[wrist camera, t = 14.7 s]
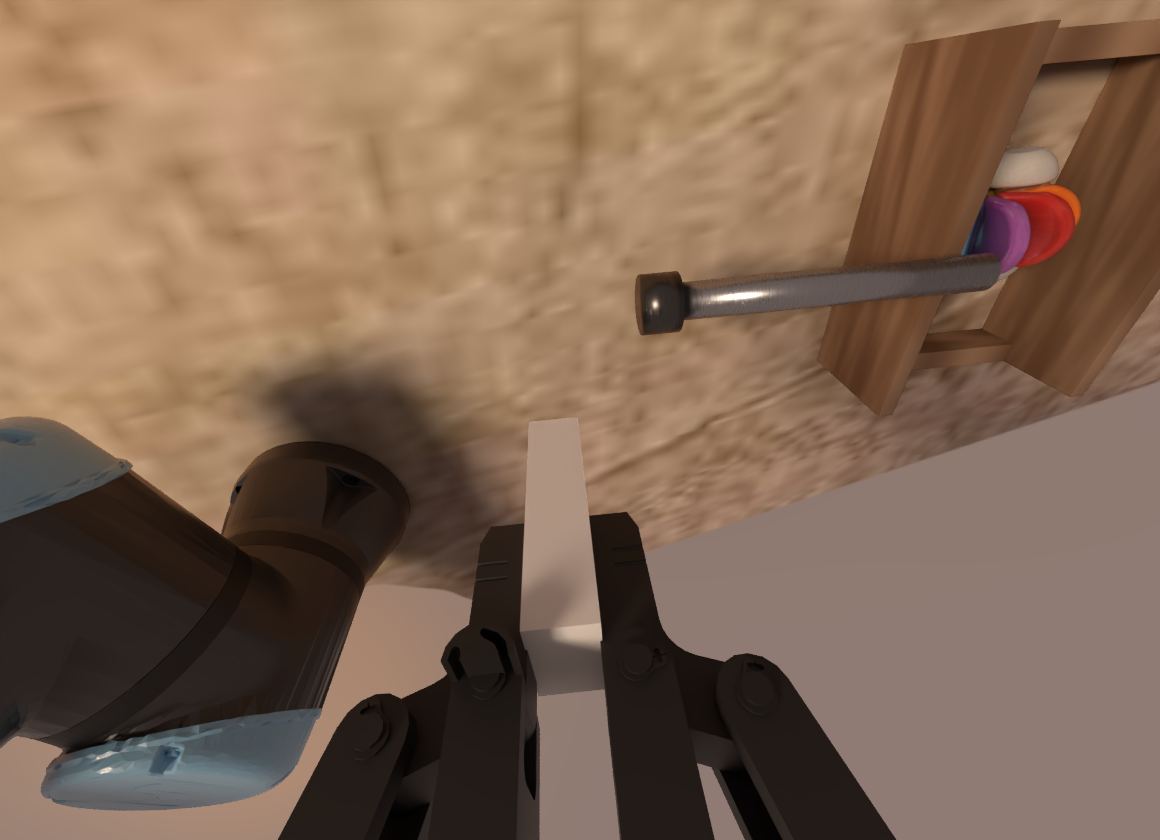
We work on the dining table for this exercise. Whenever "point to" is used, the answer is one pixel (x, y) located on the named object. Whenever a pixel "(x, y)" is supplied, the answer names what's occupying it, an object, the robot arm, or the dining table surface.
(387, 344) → the dining table surface
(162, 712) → the robot arm
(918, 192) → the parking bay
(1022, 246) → the rainbow disc toy
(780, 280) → the rod
